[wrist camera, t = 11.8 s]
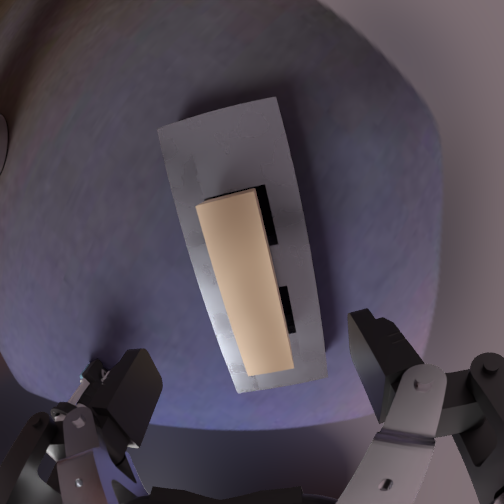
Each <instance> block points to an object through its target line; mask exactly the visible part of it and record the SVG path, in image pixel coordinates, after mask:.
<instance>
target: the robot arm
mask: <svg viewBox="0 0 504 504" xmlns="http://www.w3.org/2000/svg"><path fill="white" fill-rule="evenodd" d="M7 142H8V131H7V124H6V121H5V119H4V117H3V116H2V115H1V114H0V173H1V171H2V168H3V165H4V161H5V157H6V151H7ZM348 332H349V348H350V354H351V358H352V361H353V363H354V365H355V368H356V370H357V372H358V374H359V377H360V379H361V381H362V384H363V386H364V388H365V391H366V393H367V395H368V398H369V400H370V403H371V405H372V408H373V410H374V412H375V415H376V417H377V420H378V422H379V424H380V423H383V422H384V425H383V427H382V429H381V431H380V432H377V434H376V435H375V437H374V439H373V440H372V442H371V444H370V446H369V448H368V450H367V452H366V454H365V456H364V458H363V460H362V462H361V463H360V465H359V467H358V469H357V471H356V472H355V474H354V476H353V477H352V479H351V481H350V482H349V484H348V486H347V487H346V489H345V490H344V492H343V493H342V495H341V497H340V498H339V499H338V500H337V499H334V498H330V497H326V496H321V495H314V494H303V491H302V488H301V486H298V487H292V488H284V489H275V490H265V491H258V492H254V493H251V494H247V495H243V496H238V497H233V498H229V499H223V500H218V499H213V498H209V497H205V496H202V495H198V494H195V493H191V492H188V491H185V490H177V489H168V488H160V487H153V488H152V491H151V494H150V495H149V494H148V492H147V491H146V490H145V488H144V486H143V485H142V482H141V480H140V478H139V476H138V474H137V471H136V469H135V467H134V464H133V462H132V460H131V458H130V455H129V454H128V453H127V452H126V450H127V447H133V448H140V446H141V443H142V440H143V438H144V435H145V432H146V430H147V427H148V425H149V422H150V419H151V417H152V414H153V412H154V409H155V406H156V404H157V401H158V399H159V396H160V394H161V391H162V387H163V384H162V378H161V376H160V374H159V372H158V370H157V368H156V366H155V364H154V363H153V361H152V359H151V357H150V355H149V353H148V351H147V350H146V349H130V350H127V351H126V352H125V354H124V356H123V357H122V359H121V360H120V362H119V363H117V364H116V365H115V366H114V367H113V368H112V369H111V370H110V372H109V373H108V375H107V376H106V379H104V381H103V382H102V385H101V386H100V387H99V389H98V390H97V392H96V393H95V395H94V397H93V398H92V400H91V401H90V403H89V405H88V406H87V407H78V408H75V409H73V410H72V411H70V412H69V413H68V414H67V415H66V417H65V418H64V420H63V421H55V422H54V421H53V420H52V418H51V417H50V416H49V415H48V414H47V413H45V412H39V413H36V414H34V415H33V416H32V417H31V418H30V419H29V420H28V421H27V423H26V425H25V426H24V428H23V429H22V431H21V432H20V434H19V436H18V437H17V439H16V441H15V442H14V444H13V445H12V447H11V449H10V450H9V452H8V454H7V455H6V457H5V459H4V461H3V462H2V464H1V466H0V504H413V503H414V501H415V498H416V496H417V494H418V491H419V489H420V487H421V484H422V482H423V479H424V476H425V474H426V471H427V468H428V466H429V462H430V460H431V457H432V453H433V450H434V446H435V440H434V438H436V437H442V436H447V435H452V436H453V439H454V441H455V443H456V445H457V447H458V450H459V452H460V454H461V456H462V459H463V461H464V463H465V466H466V468H467V471H468V473H469V475H470V478H471V481H472V483H473V486H474V489H475V491H476V494H477V497H478V500H479V502H480V504H504V358H503V357H502V356H501V355H499V354H496V353H483V354H480V355H479V356H477V357H476V358H474V360H473V361H472V363H471V366H470V369H468V370H463V371H458V372H453V373H444V371H443V370H442V369H441V368H439V367H437V366H435V365H432V364H424V362H423V361H422V359H421V358H420V357H419V355H418V354H417V353H416V351H415V350H414V349H413V347H412V346H411V345H410V343H409V342H408V341H407V339H405V337H404V335H403V334H402V333H400V330H399V329H398V328H397V327H396V325H395V324H394V323H393V322H391V321H389V320H387V319H385V318H383V317H382V318H379V319H375V318H374V316H373V315H372V313H371V312H370V311H369V309H367V308H366V309H362V310H359V311H355V312H351V313H348ZM46 452H47V453H48V454H49V455H50V456H51V457H52V458H53V459H54V460H55V461H56V464H55V466H54V468H53V470H52V473H51V475H50V477H49V479H48V481H47V484H46V483H45V482H43V481H42V480H41V479H40V478H39V476H38V473H37V469H38V466H39V464H40V462H41V460H42V458H43V456H44V455H45V453H46Z"/></svg>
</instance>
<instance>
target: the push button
mask: <svg viewBox="0 0 504 504" xmlns="http://www.w3.org/2000/svg"><path fill="white" fill-rule="evenodd" d="M109 372H110V371H107V370H106V369H105V368H104V367H103V366H102V362H101V361H100V360H99V359H96V360H95V361H93V362H91V363H90V364H88V365H87V366H86V368H85V369H84V370H83V372H82V373H81V374H80V378H81V380H80V382H81V384H80V386H79V387H78V388H77V390H76V391H75V393H74V394H73V395H72V397H71V398H70V400H69V401H68V402H59V404H58V405H57V407H53V408H52V410H51V416H52V417H53V419H54V420H55V421H63V420H64V418H65V417H66V415H67V414H68V413H69V412H70V411H72V410H73V409H75V408H78V407H87V406H88V405H89V403H90V401H91V400H92V398H93V397H94V395H95V393H96V392H97V390H98V389H99V387H100V386H101V385H102V382H103V381H104V379H106V376H107V375H108V373H109ZM79 398H80V399H79ZM78 400H79V401H78ZM77 401H78V402H77ZM76 403H77V405H75V404H76ZM55 421H54V422H55Z"/></svg>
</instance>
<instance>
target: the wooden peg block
mask: <svg viewBox="0 0 504 504" xmlns="http://www.w3.org/2000/svg"><path fill="white" fill-rule="evenodd" d="M196 210H197V214H198V217H199V221H200V224H201V228H202V232H203V235H204V239H205V242H206V246H207V249H208V253H209V256H210V259H211V263H212V266H213V270H214V273H215V276H216V279H217V283H218V286H219V289H220V292H221V296H222V299H223V302H224V305H225V308H226V312H227V315H228V318H229V321H230V324H231V327H232V330H233V333H234V336H235V339H236V342H237V345H238V348H239V351H240V354H241V357H242V360H243V363H244V366H245V369H246V371H247V374H248V376H254V375H260V374H266V373H272V372H278V371H283V370H288V369H293V368H294V363H293V356H292V350H291V344H290V338H289V334H288V329H287V325H286V320H285V315H284V311H283V306H282V302H281V297H280V293H279V288H278V284H277V279H276V275H275V270H274V266H273V262H272V257H271V253H270V249H269V244H268V240H267V236H266V231H265V227H264V223H263V219H262V215H261V210H260V206H259V202H258V198H257V194H256V190H255V188H253V189H249V190H245V191H241V192H237V193H233V194H229V195H225V196H221V197H217V198H213V199H209V200H206V201H204V202H202V203H200V204H199V205H197V206H196Z"/></svg>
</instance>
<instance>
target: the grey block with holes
mask: <svg viewBox="0 0 504 504" xmlns="http://www.w3.org/2000/svg"><path fill="white" fill-rule="evenodd" d="M157 131H158V136H159V141H160V145H161V150H162V154H163V158H164V162H165V167H166V171H167V175H168V179H169V183H170V187H171V191H172V195H173V198H174V202H175V206H176V210H177V213H178V217H179V221H180V224H181V228H182V231H183V235H184V238H185V242H186V245H187V248H188V252H189V255H190V258H191V262H192V265H193V268H194V271H195V275H196V278H197V281H198V284H199V287H200V290H201V293H202V296H203V299H204V302H205V305H206V308H207V311H208V314H209V317H210V320H211V323H212V326H213V329H214V331H215V334H216V337H217V340H218V343H219V345H220V348H221V351H222V353H223V356H224V359H225V361H226V364H227V367H228V369H229V372H230V375H231V377H232V380H233V382H234V385H235V387H236V390H237V392H238V393H242V392H250V391H258V390H264V389H271V388H277V387H283V386H288V385H294V384H299V383H304V382H309V381H313V380H318V379H322V378H327V377H328V373H327V363H326V354H325V346H324V337H323V329H322V322H321V315H320V307H319V300H318V294H317V287H316V281H315V275H314V268H313V262H312V257H311V251H310V245H309V240H308V234H307V229H306V224H305V219H304V214H303V209H302V204H301V199H300V194H299V189H298V185H297V180H296V176H295V171H294V167H293V162H292V158H291V154H290V149H289V145H288V141H287V137H286V133H285V129H284V125H283V121H282V117H281V114H280V110H279V106H278V102H277V99H276V97H271V98H266V99H261V100H256V101H251V102H247V103H242V104H238V105H234V106H230V107H226V108H222V109H218V110H214V111H211V112H207V113H204V114H200V115H197V116H194V117H191V118H187V119H184V120H181V121H178V122H175V123H172V124H169V125H166V126H163V127H161V128H158V129H157ZM264 184H265V188H266V192H267V196H268V201H269V205H270V209H271V214H272V218H273V223H274V227H275V232H276V234H274V235H270V236H267V240H268V244H269V249H270V253H271V257H272V262H273V266H274V270H275V275H276V279H277V284H278V287H282V286H287V289H288V294H289V299H290V304H291V309H292V314H287V315H285V320H286V325H287V329H288V334H289V338H290V344H291V350H292V356H293V363H294V368H293V369H288V370H283V371H278V372H272V373H266V374H260V375H254V376H248V374H247V371H246V369H245V366H244V363H243V360H242V357H241V354H240V351H239V348H238V345H237V342H236V339H235V336H234V333H233V330H232V327H231V324H230V321H229V318H228V315H227V312H226V308H225V305H224V302H223V299H222V296H221V292H220V289H219V286H218V283H217V279H216V276H215V273H214V270H213V266H212V263H211V259H210V256H209V253H208V249H207V246H206V242H205V239H204V235H203V232H202V228H201V224H200V221H199V217H198V214H197V210H196V206H197V205H199V204H200V203H202V202H204V201H206V200H209V199H213V196H217V195H221V194H225V193H229V192H234V191H238V190H242V189H246V188H250V187H255V186H259V185H264Z"/></svg>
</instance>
